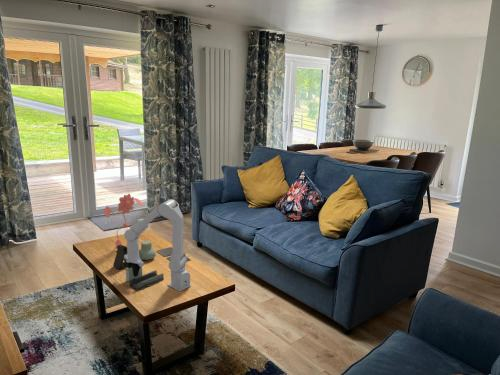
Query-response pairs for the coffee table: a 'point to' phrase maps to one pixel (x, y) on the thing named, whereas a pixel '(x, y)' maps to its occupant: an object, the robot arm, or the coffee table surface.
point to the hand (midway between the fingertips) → (134, 275)
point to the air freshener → (146, 251)
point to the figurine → (123, 209)
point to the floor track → (145, 280)
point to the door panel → (130, 274)
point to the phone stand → (120, 257)
